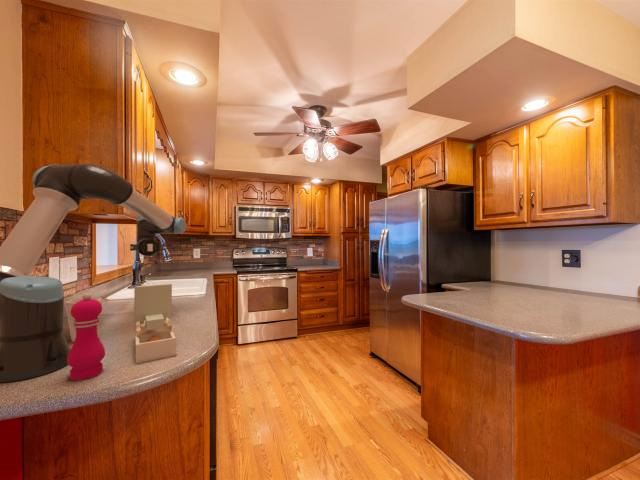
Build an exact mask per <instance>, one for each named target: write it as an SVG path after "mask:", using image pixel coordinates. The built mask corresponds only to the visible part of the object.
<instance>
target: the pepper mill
mask: <svg viewBox="0 0 640 480" xmlns="http://www.w3.org/2000/svg"><path fill="white" fill-rule="evenodd" d="M81 298H83V300H81V301H78V302H76V303H75V304H74V305H73V306H72V308H71V316H72V317H73V318H74V319H75V321H74V322H73V323H74V325H73V327H75V328H76V338H75V341H74V342H73V345H72V346H71V347H70V351H69V354H68V358H67V363H68V364H67V365H68V366H69V367H70V370H69V379H70V380H71V381H72V380H73V381H80V380H81V381H82V380H87V379H91V378H93V377H96V376H98V375H100V374H101V373H102V372H103V363H102V362H101V361H103V359H104V358H105V357H106V351H105V347H104V345H103V343H102V341H101V340H100V337H99V335H98V328H97V325H98V326H99V324H100V315H101V313H102V311H103V304H102V305H101V303H100V302H99V301H97V300H94V299H91V298H92V294H91V293H90V292H86V293H83V295H82V296H81ZM98 316H99V317H98Z"/></svg>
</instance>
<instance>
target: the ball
mask: <svg viewBox="0 0 640 480" xmlns="http://www.w3.org/2000/svg"><path fill="white" fill-rule="evenodd" d="M157 340H162V339H161V338H160V337H158V336H154V337H151V338H150V339H149V340H148V342H151V341H157Z"/></svg>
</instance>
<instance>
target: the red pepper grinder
mask: <svg viewBox="0 0 640 480" xmlns="http://www.w3.org/2000/svg"><path fill="white" fill-rule="evenodd" d="M91 299H94V300H97V301H99V302H100V303H101V305H102V306H103V298H101V297H91ZM81 300H83V298H82V297H81V298H74V299H70V300H67V301H65V307H64V308H65V310H66V315H67V322H68V327H69V332H70V333H69V335H70V339H71V342H72V343H74V341H75V338H76V328H75V327H73V325H74V323H73V322H74V321H75V319H74V318H73V317H72V316H71V308H72V306H73V305H74V304H75V303H76V302H78V301H81ZM98 317H99V318H100V315H99V316H98ZM98 327H99V324H98V325H97V329H98Z"/></svg>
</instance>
